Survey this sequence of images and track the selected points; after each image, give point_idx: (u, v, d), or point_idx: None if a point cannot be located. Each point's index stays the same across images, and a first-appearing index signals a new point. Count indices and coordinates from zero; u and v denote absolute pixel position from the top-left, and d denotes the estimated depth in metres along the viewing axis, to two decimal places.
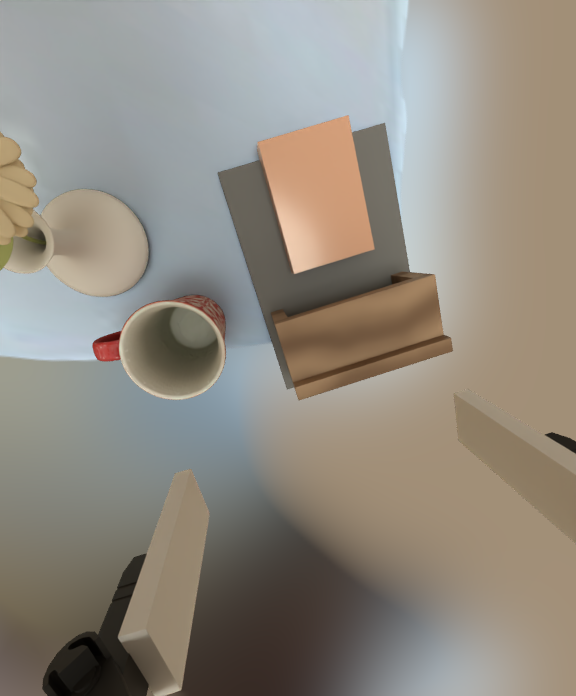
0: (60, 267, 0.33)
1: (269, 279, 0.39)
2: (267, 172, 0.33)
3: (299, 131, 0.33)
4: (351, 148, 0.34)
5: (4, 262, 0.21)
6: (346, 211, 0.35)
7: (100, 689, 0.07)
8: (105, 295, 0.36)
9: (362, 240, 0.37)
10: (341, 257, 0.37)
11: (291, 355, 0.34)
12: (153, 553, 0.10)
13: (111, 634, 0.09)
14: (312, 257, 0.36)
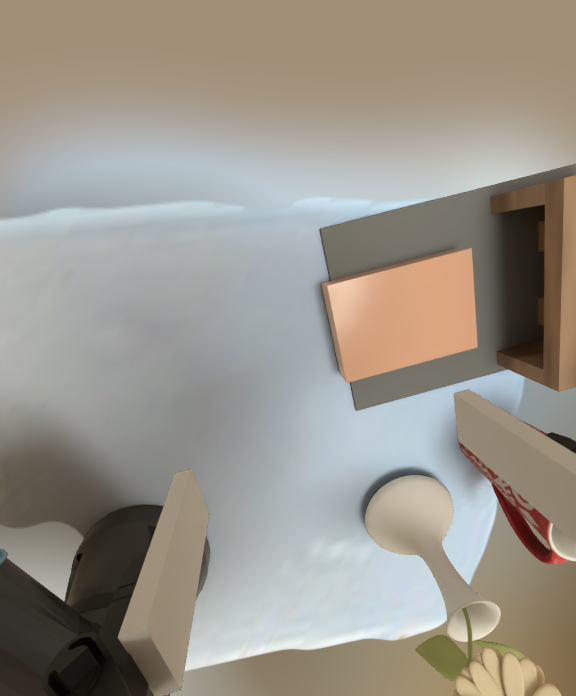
0: None
1: (463, 364, 0.35)
2: (374, 373, 0.32)
3: (339, 340, 0.30)
4: (359, 281, 0.29)
5: (520, 654, 0.25)
6: (423, 286, 0.30)
7: (100, 689, 0.07)
8: None
9: (458, 265, 0.29)
10: (472, 291, 0.30)
11: None
12: (153, 553, 0.10)
13: (111, 634, 0.09)
14: (464, 326, 0.31)
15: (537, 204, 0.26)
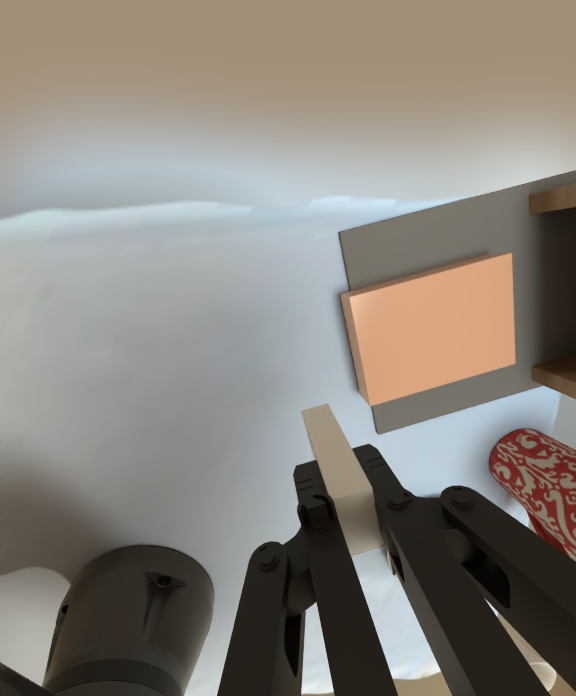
0: None
1: (495, 380, 0.32)
2: (401, 395, 0.28)
3: (362, 359, 0.27)
4: (386, 291, 0.25)
5: None
6: (457, 296, 0.26)
7: (330, 536, 0.10)
8: None
9: (497, 272, 0.26)
10: (511, 301, 0.27)
11: None
12: (322, 456, 0.13)
13: None
14: (502, 340, 0.28)
15: None
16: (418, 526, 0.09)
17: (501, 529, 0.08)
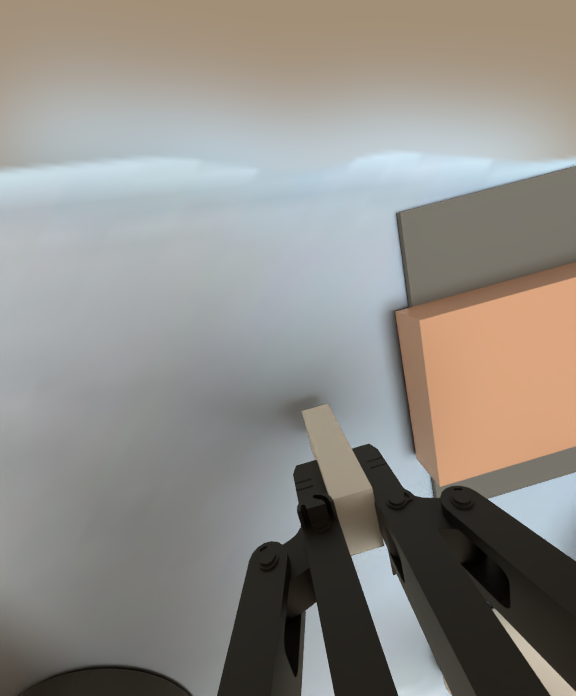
0: None
1: None
2: (488, 470, 0.18)
3: (434, 417, 0.16)
4: (480, 311, 0.15)
5: None
6: None
7: (330, 536, 0.10)
8: None
9: None
10: None
11: None
12: (322, 456, 0.13)
13: None
14: None
15: None
16: (418, 526, 0.09)
17: (501, 529, 0.08)
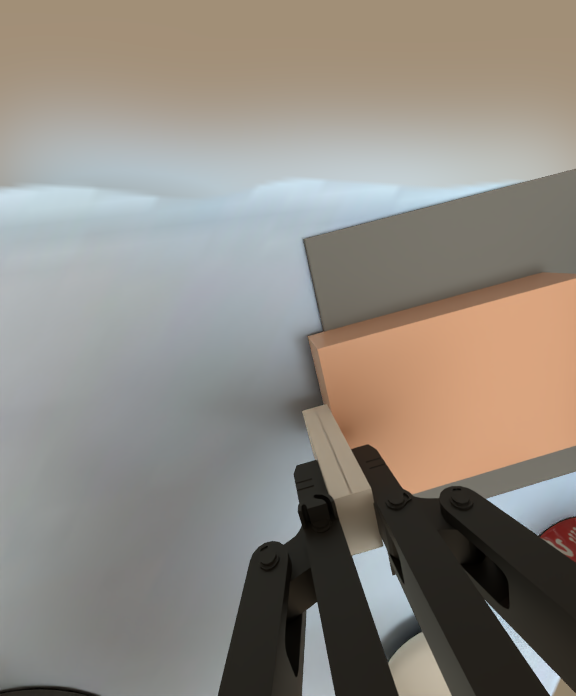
0: None
1: (542, 456, 0.22)
2: None
3: None
4: (380, 339, 0.15)
5: None
6: (497, 345, 0.16)
7: (330, 536, 0.10)
8: None
9: (563, 306, 0.16)
10: None
11: None
12: (323, 456, 0.13)
13: None
14: (563, 411, 0.18)
15: None
16: (417, 526, 0.09)
17: (500, 529, 0.08)
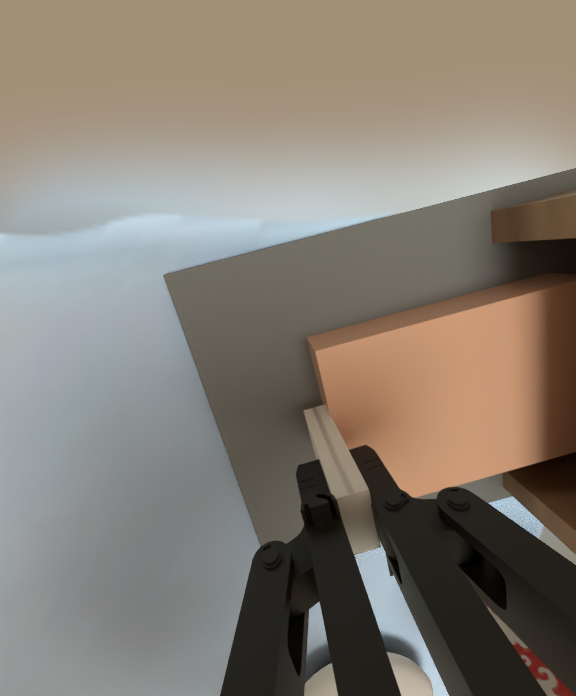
0: None
1: None
2: None
3: None
4: (379, 341, 0.15)
5: None
6: (500, 347, 0.15)
7: (333, 535, 0.10)
8: None
9: (569, 307, 0.15)
10: None
11: None
12: (325, 455, 0.13)
13: None
14: (569, 415, 0.17)
15: None
16: (415, 527, 0.09)
17: (497, 530, 0.08)
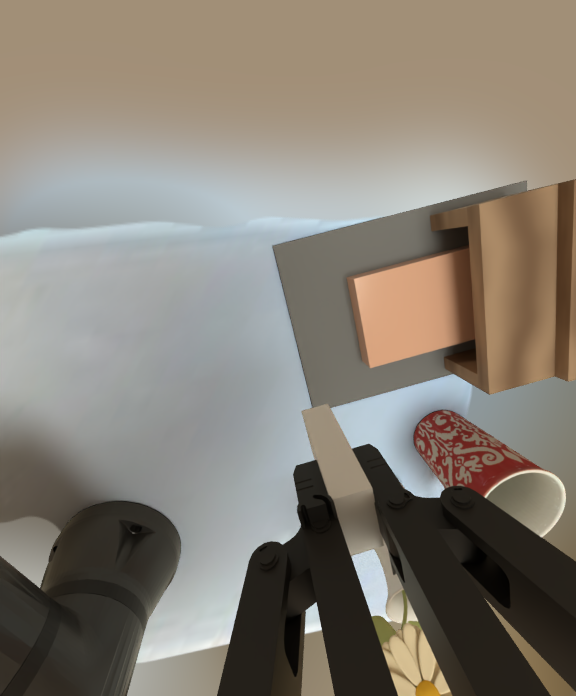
0: None
1: (412, 368, 0.38)
2: (395, 359, 0.35)
3: (364, 329, 0.33)
4: (383, 274, 0.32)
5: None
6: (440, 279, 0.33)
7: (329, 536, 0.10)
8: None
9: None
10: None
11: (525, 378, 0.31)
12: (322, 456, 0.13)
13: None
14: None
15: (462, 225, 0.29)
16: (418, 526, 0.09)
17: (501, 529, 0.08)
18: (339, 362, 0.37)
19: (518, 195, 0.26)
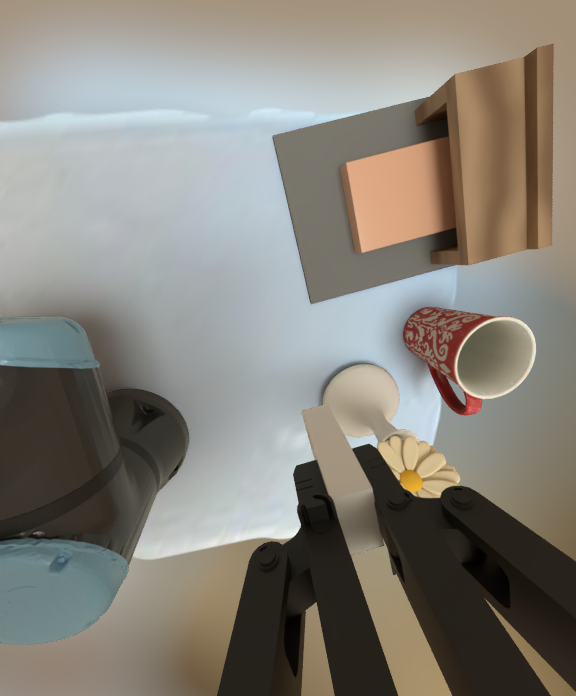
0: None
1: (401, 262, 0.42)
2: (384, 245, 0.38)
3: (356, 213, 0.37)
4: (372, 159, 0.35)
5: None
6: (424, 165, 0.36)
7: (330, 536, 0.10)
8: (398, 399, 0.45)
9: None
10: None
11: (500, 249, 0.35)
12: (322, 456, 0.13)
13: None
14: None
15: (442, 104, 0.32)
16: (418, 526, 0.09)
17: (501, 529, 0.08)
18: (333, 254, 0.40)
19: (489, 67, 0.30)
